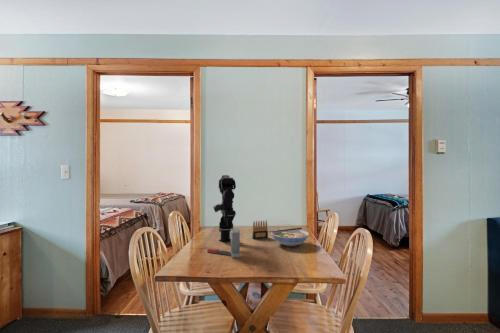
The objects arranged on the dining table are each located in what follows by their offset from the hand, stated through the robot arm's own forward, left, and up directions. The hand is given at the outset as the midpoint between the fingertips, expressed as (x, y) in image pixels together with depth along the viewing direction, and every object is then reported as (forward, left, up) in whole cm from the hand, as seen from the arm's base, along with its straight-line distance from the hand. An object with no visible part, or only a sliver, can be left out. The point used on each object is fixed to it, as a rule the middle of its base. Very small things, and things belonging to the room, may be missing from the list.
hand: (227, 225), depth 158 cm
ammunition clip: (-29, +8, -13) cm, 33 cm away
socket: (+11, +12, -11) cm, 20 cm away
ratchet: (+12, +4, -13) cm, 18 cm away
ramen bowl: (-22, +31, -13) cm, 40 cm away
